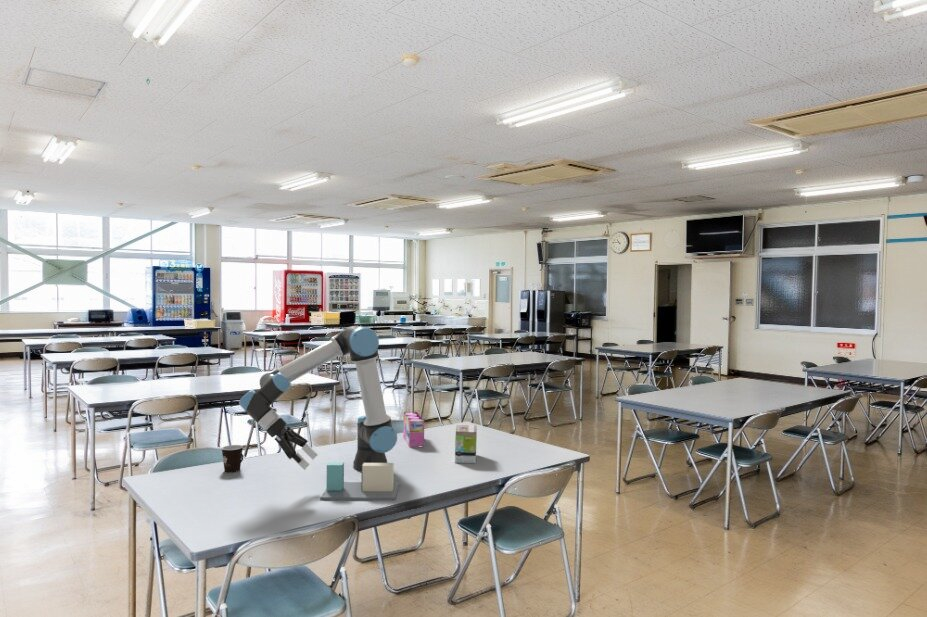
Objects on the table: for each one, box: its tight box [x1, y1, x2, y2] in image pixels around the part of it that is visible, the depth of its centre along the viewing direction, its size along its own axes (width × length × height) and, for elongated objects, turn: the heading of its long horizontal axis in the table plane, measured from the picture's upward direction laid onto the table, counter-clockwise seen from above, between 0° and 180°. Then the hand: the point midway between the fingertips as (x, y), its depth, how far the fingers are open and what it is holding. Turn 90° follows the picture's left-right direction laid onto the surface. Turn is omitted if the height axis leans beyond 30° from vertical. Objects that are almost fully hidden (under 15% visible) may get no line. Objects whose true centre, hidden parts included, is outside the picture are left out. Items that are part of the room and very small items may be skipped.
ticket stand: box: [320, 462, 400, 501], centre depth 232 cm, size 28×18×11 cm, turn 91°
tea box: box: [454, 424, 478, 464], centre depth 280 cm, size 15×10×15 cm, turn 179°
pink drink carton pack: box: [402, 411, 425, 448], centre depth 312 cm, size 24×8×14 cm, turn 14°
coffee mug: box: [221, 444, 244, 473], centre depth 257 cm, size 12×9×10 cm
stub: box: [326, 461, 345, 491], centre depth 232 cm, size 6×4×10 cm, turn 91°
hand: (311, 462), depth 232 cm, fingers open, 13 cm apart
